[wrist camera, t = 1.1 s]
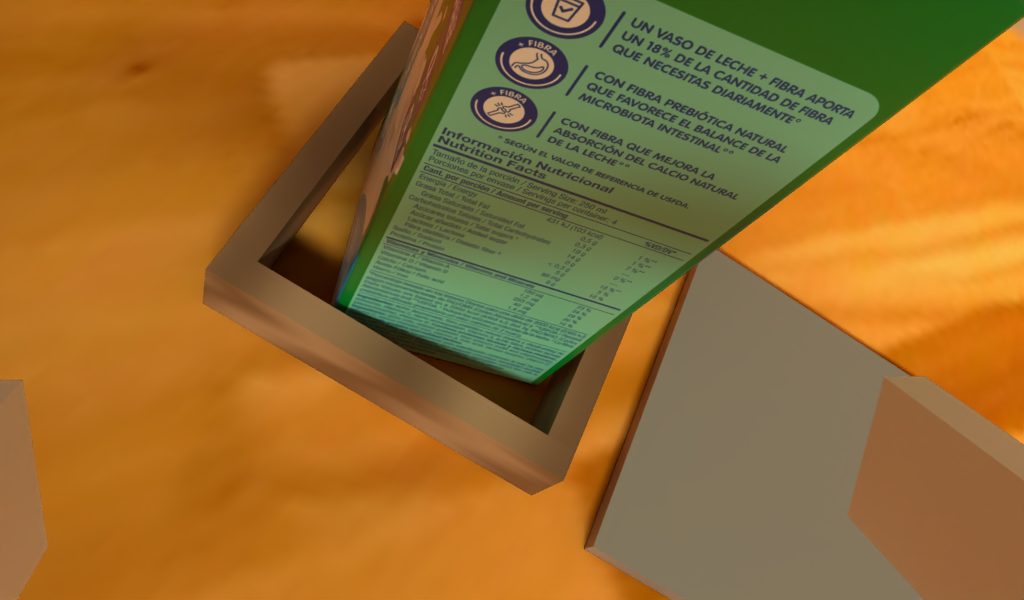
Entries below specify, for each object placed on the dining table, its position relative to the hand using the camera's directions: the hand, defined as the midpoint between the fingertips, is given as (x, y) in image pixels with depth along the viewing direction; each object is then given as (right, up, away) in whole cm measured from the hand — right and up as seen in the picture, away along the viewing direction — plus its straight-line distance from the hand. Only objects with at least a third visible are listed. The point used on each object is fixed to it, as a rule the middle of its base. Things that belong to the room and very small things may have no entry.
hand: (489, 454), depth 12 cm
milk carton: (-2, +4, +22) cm, 22 cm away
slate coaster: (+13, -5, +24) cm, 28 cm away
